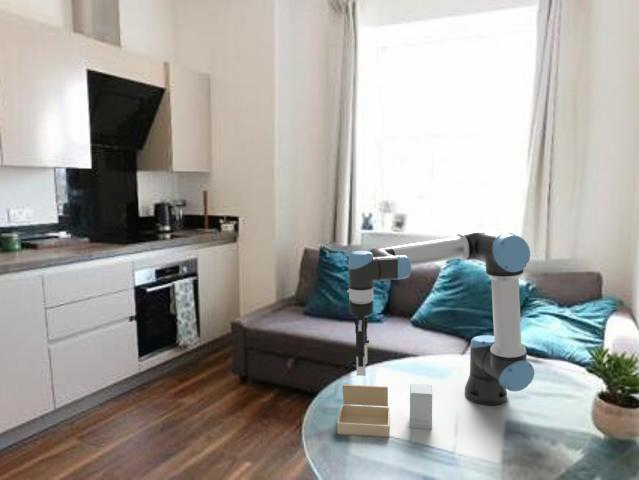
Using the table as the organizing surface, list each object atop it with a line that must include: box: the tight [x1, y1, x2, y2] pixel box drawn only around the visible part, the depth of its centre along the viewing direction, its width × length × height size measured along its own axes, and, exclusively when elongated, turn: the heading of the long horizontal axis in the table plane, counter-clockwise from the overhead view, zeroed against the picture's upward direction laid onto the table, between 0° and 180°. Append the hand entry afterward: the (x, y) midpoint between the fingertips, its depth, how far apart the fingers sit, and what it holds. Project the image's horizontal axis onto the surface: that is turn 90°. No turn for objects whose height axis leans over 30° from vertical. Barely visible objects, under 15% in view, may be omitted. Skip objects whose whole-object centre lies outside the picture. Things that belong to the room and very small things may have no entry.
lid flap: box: [342, 384, 389, 407], centre depth 167 cm, size 16×8×1 cm
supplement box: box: [409, 383, 433, 430], centre depth 162 cm, size 7×7×13 cm
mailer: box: [336, 404, 391, 438], centre depth 162 cm, size 17×12×4 cm
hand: (362, 368), depth 153 cm, fingers open, 8 cm apart
